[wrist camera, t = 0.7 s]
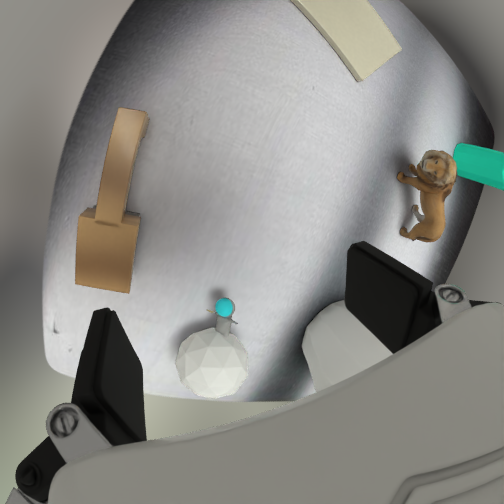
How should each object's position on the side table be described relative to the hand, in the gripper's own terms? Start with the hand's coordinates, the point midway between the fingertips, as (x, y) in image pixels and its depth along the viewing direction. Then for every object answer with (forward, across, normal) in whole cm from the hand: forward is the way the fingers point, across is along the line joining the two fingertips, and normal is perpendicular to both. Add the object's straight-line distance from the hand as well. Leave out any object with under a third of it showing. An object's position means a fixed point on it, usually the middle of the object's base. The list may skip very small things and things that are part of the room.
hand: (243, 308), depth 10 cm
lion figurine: (+17, -27, +3) cm, 32 cm away
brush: (+17, +7, -3) cm, 18 cm away
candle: (+17, -44, -2) cm, 47 cm away
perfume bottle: (+17, +1, +14) cm, 22 cm away
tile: (+17, -19, -21) cm, 33 cm away
